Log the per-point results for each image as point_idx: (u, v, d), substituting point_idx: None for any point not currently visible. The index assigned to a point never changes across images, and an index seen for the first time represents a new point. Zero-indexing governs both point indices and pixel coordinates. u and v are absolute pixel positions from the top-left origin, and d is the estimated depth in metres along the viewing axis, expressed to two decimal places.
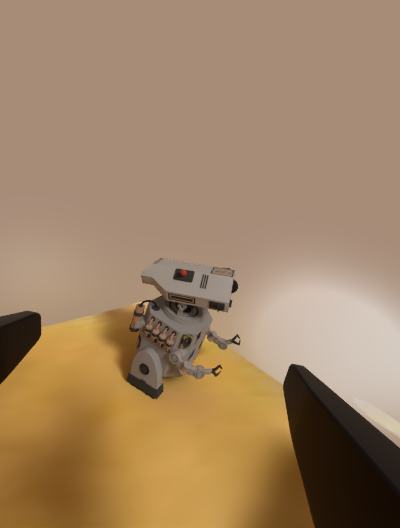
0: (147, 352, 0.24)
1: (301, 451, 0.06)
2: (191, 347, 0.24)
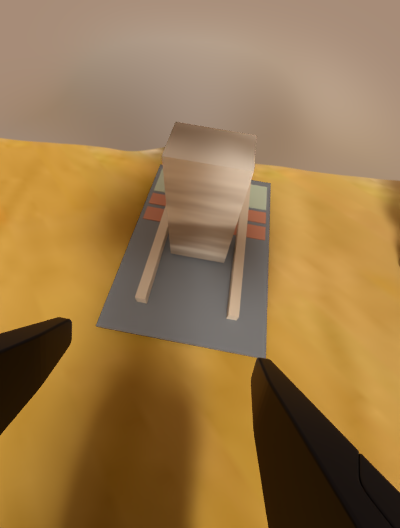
0: None
1: (260, 442, 0.06)
2: None
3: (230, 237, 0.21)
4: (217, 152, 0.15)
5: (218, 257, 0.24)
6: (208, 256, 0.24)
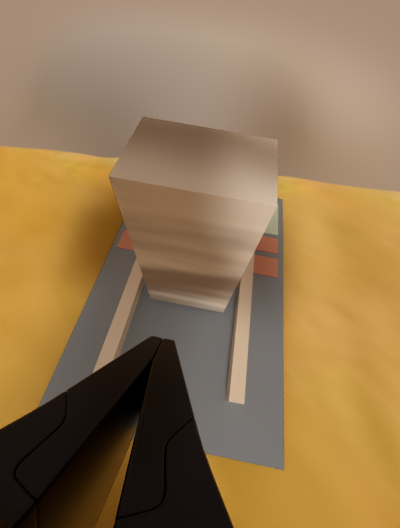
0: None
1: None
2: None
3: (232, 288, 0.14)
4: (211, 169, 0.09)
5: (214, 306, 0.17)
6: (201, 304, 0.18)
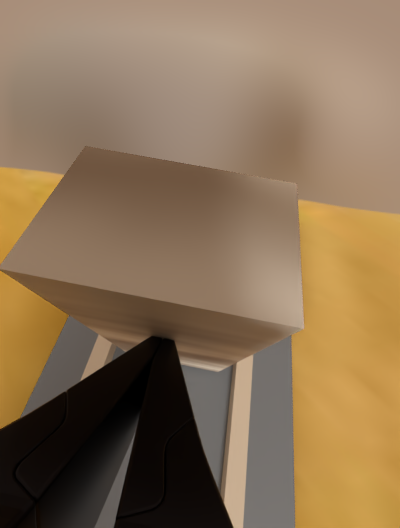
0: None
1: None
2: None
3: (228, 364, 0.11)
4: (187, 247, 0.05)
5: (207, 368, 0.14)
6: (190, 365, 0.14)
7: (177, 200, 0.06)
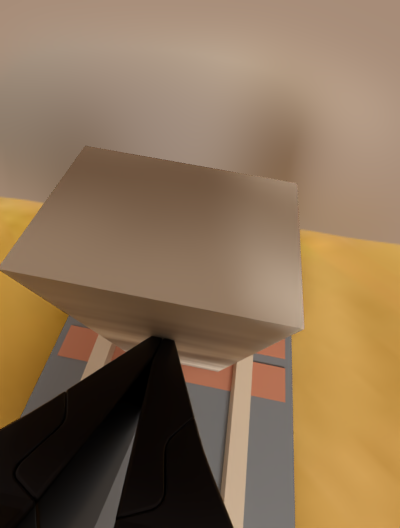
0: None
1: None
2: None
3: (228, 364, 0.11)
4: (187, 247, 0.05)
5: (207, 368, 0.14)
6: (190, 365, 0.14)
7: (177, 200, 0.06)
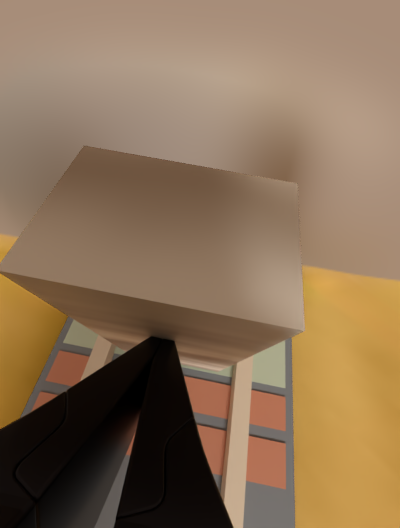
0: None
1: None
2: None
3: (228, 364, 0.10)
4: (187, 247, 0.05)
5: (207, 368, 0.14)
6: (190, 364, 0.14)
7: (176, 200, 0.06)
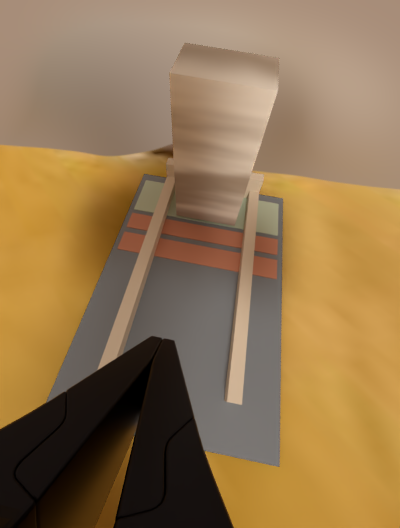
0: None
1: None
2: None
3: (243, 190, 0.19)
4: (234, 71, 0.13)
5: (228, 218, 0.22)
6: (217, 217, 0.22)
7: (228, 60, 0.13)
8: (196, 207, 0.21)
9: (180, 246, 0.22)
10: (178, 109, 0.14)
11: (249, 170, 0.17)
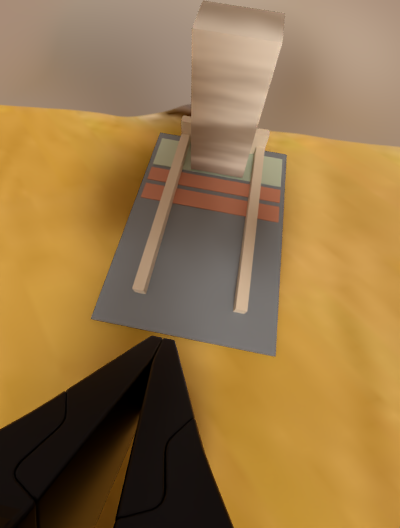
0: None
1: None
2: None
3: (251, 140, 0.21)
4: (246, 26, 0.15)
5: (237, 169, 0.25)
6: (227, 169, 0.25)
7: (241, 16, 0.16)
8: (209, 159, 0.24)
9: (194, 195, 0.25)
10: (197, 62, 0.17)
11: (256, 120, 0.20)
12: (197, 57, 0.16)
